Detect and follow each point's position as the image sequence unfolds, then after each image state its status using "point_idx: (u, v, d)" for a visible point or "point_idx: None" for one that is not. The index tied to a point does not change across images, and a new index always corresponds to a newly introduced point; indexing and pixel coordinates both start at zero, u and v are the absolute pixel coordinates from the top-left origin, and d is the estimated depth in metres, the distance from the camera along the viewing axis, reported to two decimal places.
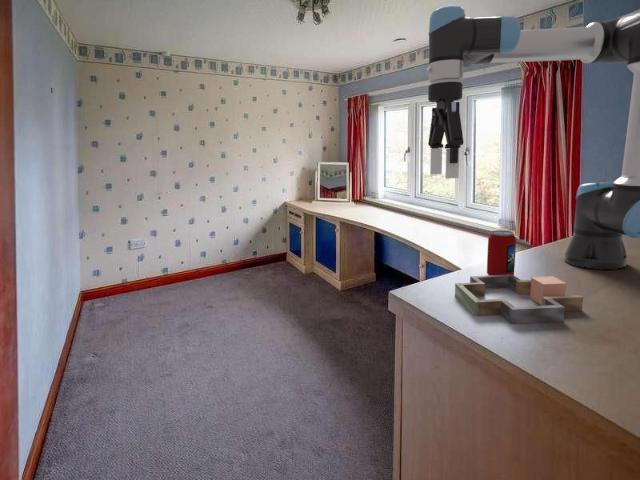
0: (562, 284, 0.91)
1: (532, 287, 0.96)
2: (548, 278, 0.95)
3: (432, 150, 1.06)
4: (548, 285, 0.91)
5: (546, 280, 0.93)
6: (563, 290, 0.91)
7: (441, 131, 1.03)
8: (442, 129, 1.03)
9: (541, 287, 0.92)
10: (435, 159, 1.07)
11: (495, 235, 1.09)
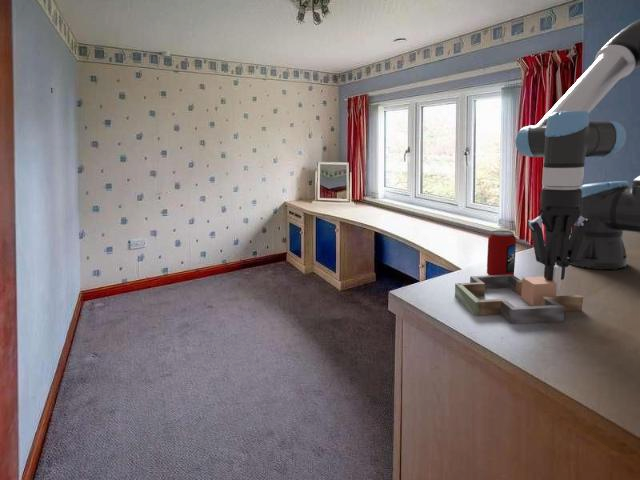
0: (553, 284, 0.91)
1: (523, 287, 0.95)
2: (539, 278, 0.94)
3: None
4: (539, 285, 0.91)
5: (536, 280, 0.93)
6: (554, 290, 0.91)
7: (561, 240, 0.91)
8: (562, 238, 0.91)
9: (532, 287, 0.92)
10: None
11: (495, 235, 1.09)
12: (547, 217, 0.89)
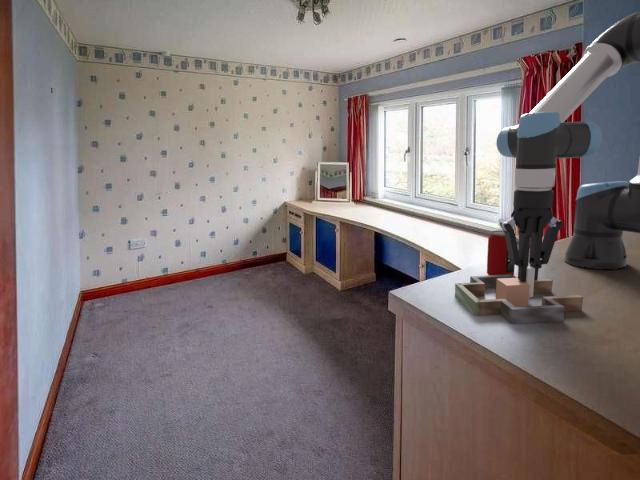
0: (526, 285, 0.91)
1: (497, 288, 0.95)
2: (513, 279, 0.94)
3: None
4: (512, 287, 0.91)
5: (510, 281, 0.93)
6: (527, 291, 0.91)
7: (534, 242, 0.91)
8: (534, 239, 0.91)
9: (505, 288, 0.91)
10: None
11: (495, 235, 1.09)
12: (519, 218, 0.89)
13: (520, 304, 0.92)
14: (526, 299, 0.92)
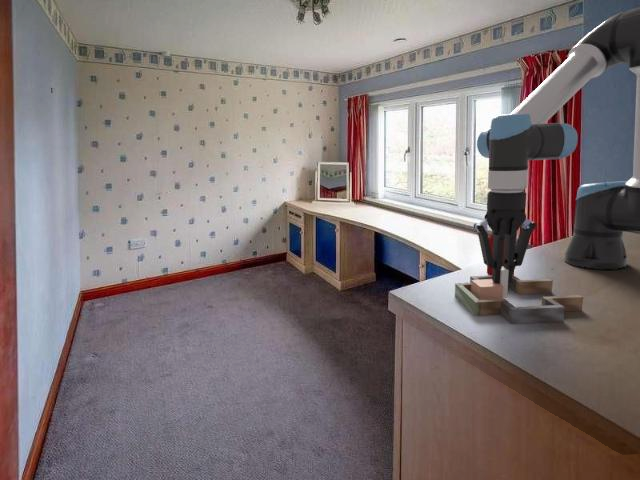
0: (499, 287, 0.91)
1: (472, 290, 0.95)
2: (487, 281, 0.94)
3: None
4: (485, 288, 0.91)
5: (484, 283, 0.93)
6: (500, 293, 0.91)
7: (507, 243, 0.91)
8: (508, 241, 0.91)
9: (479, 290, 0.91)
10: None
11: None
12: (492, 220, 0.89)
13: None
14: None
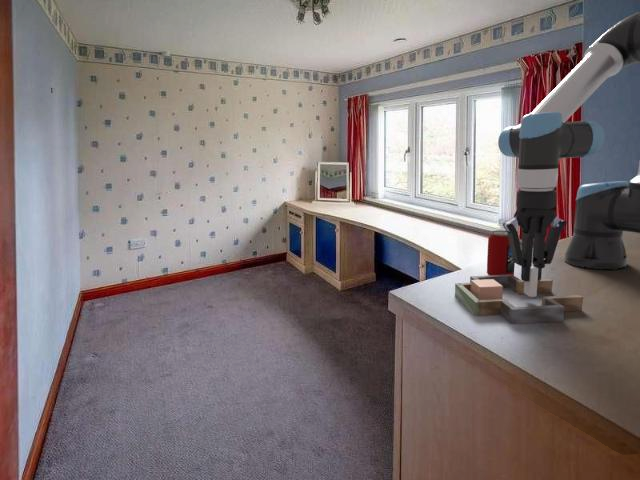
0: (499, 287, 0.91)
1: (472, 290, 0.95)
2: (487, 281, 0.94)
3: None
4: (485, 288, 0.91)
5: (484, 283, 0.93)
6: (500, 293, 0.91)
7: (537, 242, 0.91)
8: (537, 239, 0.91)
9: (478, 290, 0.91)
10: None
11: (495, 235, 1.09)
12: (522, 219, 0.89)
13: None
14: None
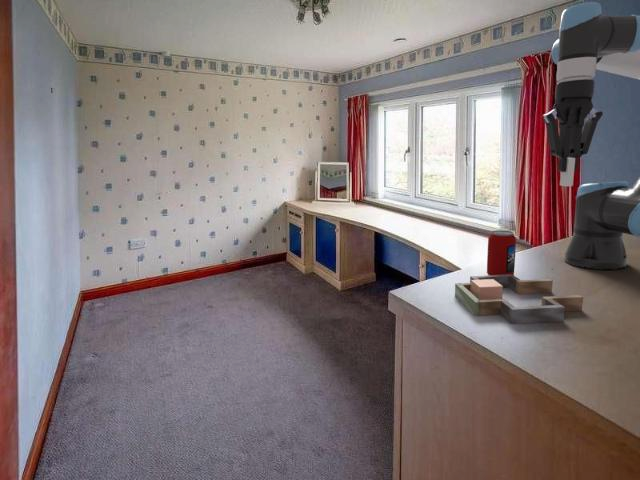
0: (499, 287, 0.91)
1: (472, 290, 0.95)
2: (487, 281, 0.94)
3: None
4: (485, 288, 0.91)
5: (484, 283, 0.93)
6: (500, 293, 0.91)
7: (574, 133, 0.97)
8: (575, 130, 0.97)
9: (478, 290, 0.91)
10: None
11: (495, 235, 1.09)
12: (561, 109, 0.95)
13: None
14: None
